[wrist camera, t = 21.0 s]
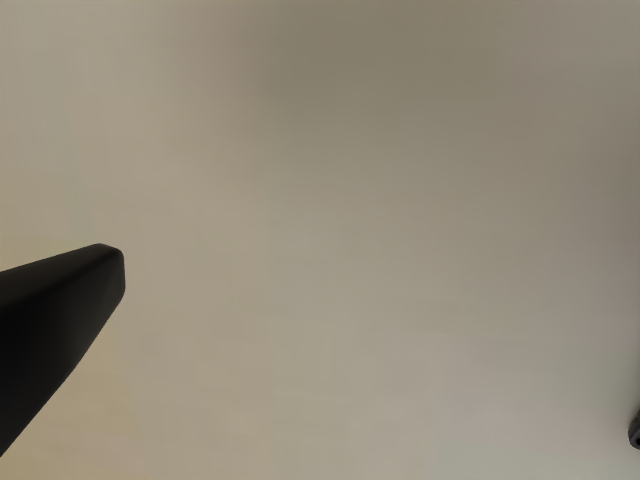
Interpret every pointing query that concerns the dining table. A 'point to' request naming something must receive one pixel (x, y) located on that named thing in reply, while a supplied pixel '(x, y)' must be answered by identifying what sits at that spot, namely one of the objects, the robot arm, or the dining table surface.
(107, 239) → the dining table surface
